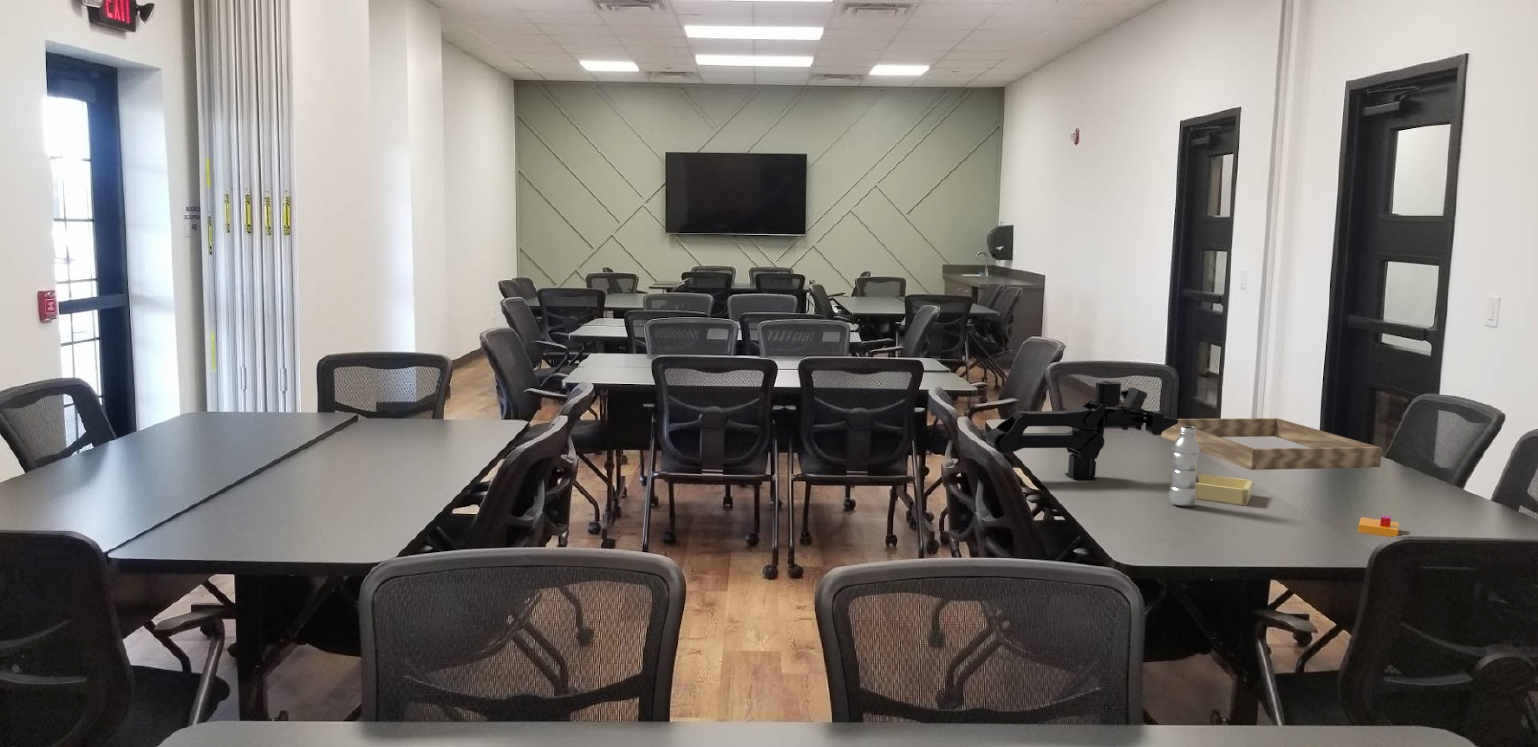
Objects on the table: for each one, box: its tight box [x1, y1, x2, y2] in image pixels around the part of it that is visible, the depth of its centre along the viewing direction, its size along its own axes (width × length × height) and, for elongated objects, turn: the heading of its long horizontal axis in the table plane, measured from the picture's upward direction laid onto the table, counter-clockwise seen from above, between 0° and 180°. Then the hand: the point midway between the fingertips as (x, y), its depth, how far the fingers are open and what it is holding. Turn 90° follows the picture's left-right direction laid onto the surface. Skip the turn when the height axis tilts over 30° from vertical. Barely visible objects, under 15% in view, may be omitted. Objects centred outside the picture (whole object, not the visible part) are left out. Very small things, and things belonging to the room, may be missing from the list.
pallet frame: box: [1160, 417, 1383, 471], centre depth 348 cm, size 43×49×6 cm
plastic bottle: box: [1168, 426, 1201, 507], centre depth 275 cm, size 6×7×20 cm
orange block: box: [1357, 515, 1400, 538], centre depth 258 cm, size 8×8×4 cm
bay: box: [1196, 473, 1254, 507], centre depth 286 cm, size 13×13×4 cm
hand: (1168, 418), depth 307 cm, fingers open, 9 cm apart
